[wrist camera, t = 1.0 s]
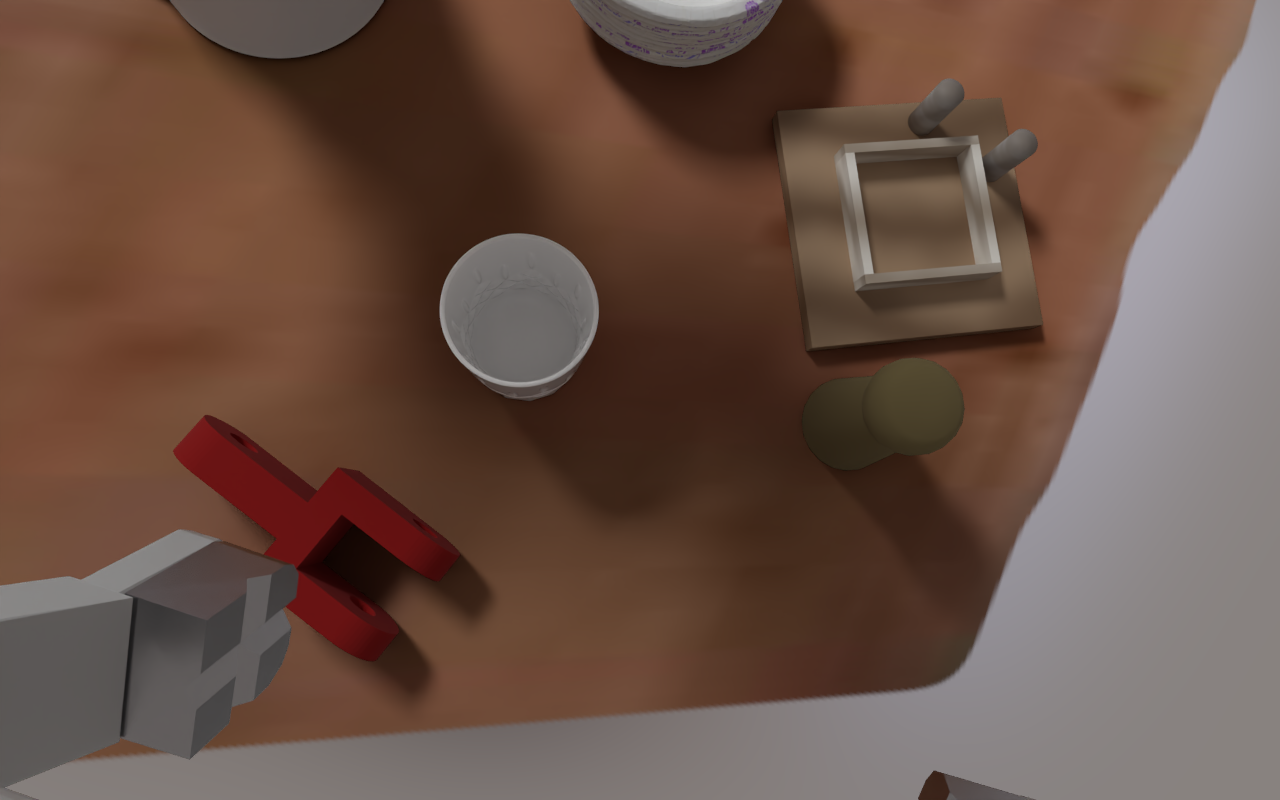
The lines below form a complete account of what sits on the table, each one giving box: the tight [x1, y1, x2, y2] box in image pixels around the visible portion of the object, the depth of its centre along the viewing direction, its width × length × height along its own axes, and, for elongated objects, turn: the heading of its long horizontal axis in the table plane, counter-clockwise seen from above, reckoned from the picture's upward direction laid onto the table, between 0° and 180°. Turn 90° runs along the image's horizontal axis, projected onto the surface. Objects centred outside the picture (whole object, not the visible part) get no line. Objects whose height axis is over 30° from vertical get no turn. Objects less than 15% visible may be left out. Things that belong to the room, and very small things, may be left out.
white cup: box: [440, 233, 599, 401], centre depth 44 cm, size 8×8×10 cm
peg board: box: [772, 79, 1043, 351], centre depth 50 cm, size 16×16×5 cm
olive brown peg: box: [802, 358, 964, 471], centre depth 45 cm, size 6×6×11 cm
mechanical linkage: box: [173, 415, 460, 661], centre depth 44 cm, size 16×7×5 cm, turn 52°
